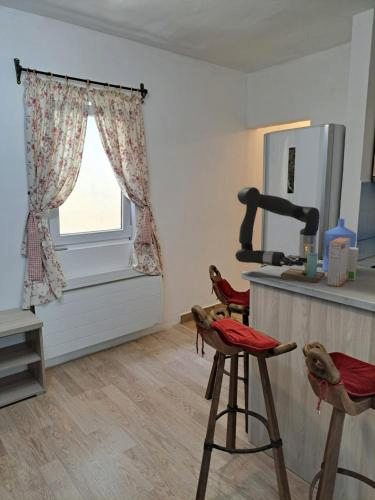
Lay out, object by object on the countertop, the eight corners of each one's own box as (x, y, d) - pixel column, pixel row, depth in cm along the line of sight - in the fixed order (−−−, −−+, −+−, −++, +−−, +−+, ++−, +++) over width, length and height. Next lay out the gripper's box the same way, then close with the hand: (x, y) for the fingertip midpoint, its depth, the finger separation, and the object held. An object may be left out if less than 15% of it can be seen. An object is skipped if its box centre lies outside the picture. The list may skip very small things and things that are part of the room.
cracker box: (335, 278, 180) (338, 237, 176) (348, 280, 176) (351, 238, 172) (326, 284, 169) (329, 240, 165) (339, 287, 165) (342, 242, 161)
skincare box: (336, 278, 179) (339, 247, 176) (338, 275, 185) (340, 245, 182) (355, 280, 176) (358, 249, 173) (356, 277, 181) (358, 247, 178)
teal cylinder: (307, 275, 178) (309, 252, 176) (317, 276, 176) (318, 253, 174) (305, 277, 174) (306, 254, 172) (314, 278, 172) (316, 255, 170)
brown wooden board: (289, 271, 194) (290, 268, 193) (324, 276, 184) (324, 272, 183) (280, 278, 181) (280, 273, 181) (317, 283, 171) (317, 278, 171)
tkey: (312, 269, 187) (313, 243, 184) (311, 274, 177) (313, 246, 175) (302, 269, 189) (303, 242, 186) (300, 273, 179) (302, 246, 177)
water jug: (347, 267, 202) (351, 217, 197) (357, 274, 187) (362, 220, 182) (319, 267, 204) (322, 217, 199) (326, 273, 189) (330, 220, 184)
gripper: (268, 253, 178) (301, 257, 169) (278, 249, 189) (310, 252, 180) (268, 268, 179) (300, 272, 170) (278, 263, 191) (309, 266, 182)
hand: (305, 262), depth 175 cm, fingers open, 8 cm apart
